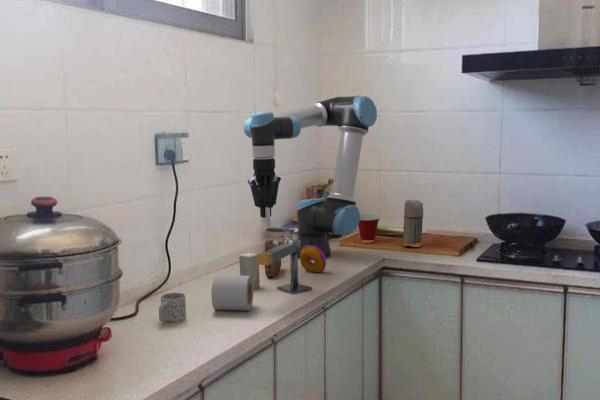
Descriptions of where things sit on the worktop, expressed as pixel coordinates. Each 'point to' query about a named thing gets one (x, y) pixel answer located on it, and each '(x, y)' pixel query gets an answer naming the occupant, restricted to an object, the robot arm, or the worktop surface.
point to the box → (250, 267)
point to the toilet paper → (232, 292)
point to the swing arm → (279, 252)
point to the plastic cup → (368, 226)
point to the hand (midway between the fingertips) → (266, 226)
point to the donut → (315, 255)
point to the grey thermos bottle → (413, 222)
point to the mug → (172, 308)
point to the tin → (273, 268)
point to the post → (294, 278)
